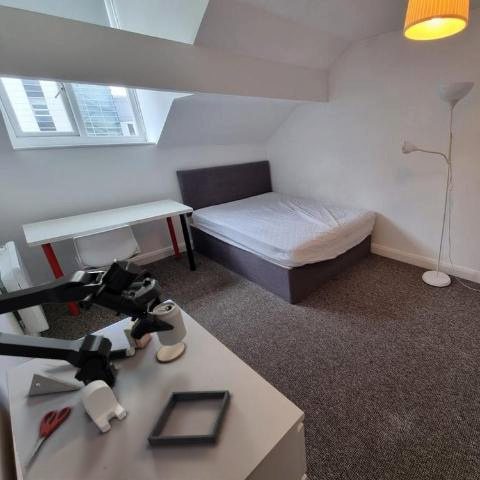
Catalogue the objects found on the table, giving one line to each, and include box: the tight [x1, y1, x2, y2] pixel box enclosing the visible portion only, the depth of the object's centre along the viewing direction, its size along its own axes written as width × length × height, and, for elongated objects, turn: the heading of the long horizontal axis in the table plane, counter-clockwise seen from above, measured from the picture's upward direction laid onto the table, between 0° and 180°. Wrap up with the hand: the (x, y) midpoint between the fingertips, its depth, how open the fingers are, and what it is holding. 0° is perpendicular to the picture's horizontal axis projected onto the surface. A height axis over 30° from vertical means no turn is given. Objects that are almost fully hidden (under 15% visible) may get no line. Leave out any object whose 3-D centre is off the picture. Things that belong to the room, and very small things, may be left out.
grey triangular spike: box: [28, 372, 80, 396], centre depth 79 cm, size 6×5×13 cm
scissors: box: [23, 406, 72, 469], centre depth 65 cm, size 5×14×1 cm, turn 17°
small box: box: [123, 319, 152, 349], centre depth 91 cm, size 5×4×8 cm
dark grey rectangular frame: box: [147, 389, 231, 447], centre depth 67 cm, size 15×12×2 cm
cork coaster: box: [156, 341, 186, 363], centre depth 88 cm, size 8×8×1 cm
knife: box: [44, 347, 136, 367], centre depth 86 cm, size 26×2×5 cm
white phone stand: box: [79, 380, 127, 433], centre depth 68 cm, size 5×10×10 cm, turn 58°
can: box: [152, 301, 187, 346], centre depth 81 cm, size 8×8×12 cm
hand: (173, 320), depth 82 cm, fingers closed on can, 7 cm apart
